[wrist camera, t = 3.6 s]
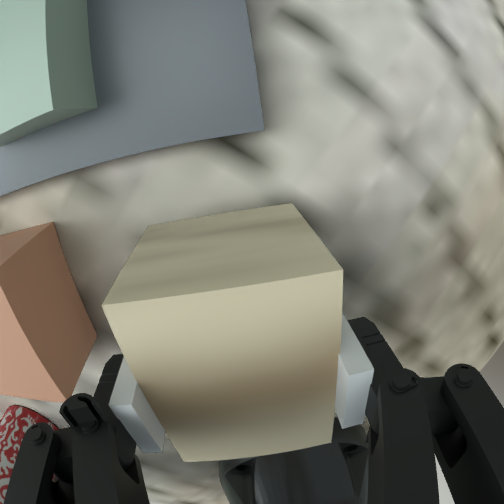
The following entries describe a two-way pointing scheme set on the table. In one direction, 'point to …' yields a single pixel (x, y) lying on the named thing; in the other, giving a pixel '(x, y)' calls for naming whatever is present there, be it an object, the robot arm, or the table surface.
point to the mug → (14, 440)
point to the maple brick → (233, 331)
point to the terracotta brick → (40, 318)
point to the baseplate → (119, 81)
